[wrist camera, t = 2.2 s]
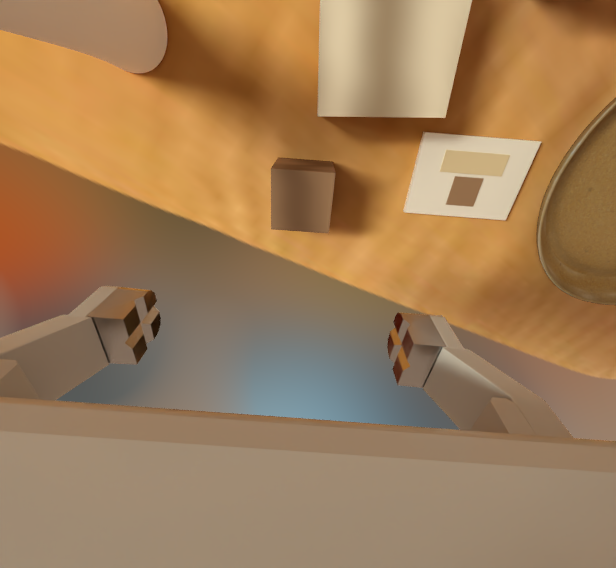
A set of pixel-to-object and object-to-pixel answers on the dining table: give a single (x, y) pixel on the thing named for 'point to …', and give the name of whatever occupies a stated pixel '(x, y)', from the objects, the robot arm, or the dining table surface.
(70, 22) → the cosmetic bottle
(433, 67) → the birch base block
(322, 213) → the walnut cube
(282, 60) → the dining table surface
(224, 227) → the dining table surface
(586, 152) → the plant saucer
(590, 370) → the dining table surface
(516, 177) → the card
